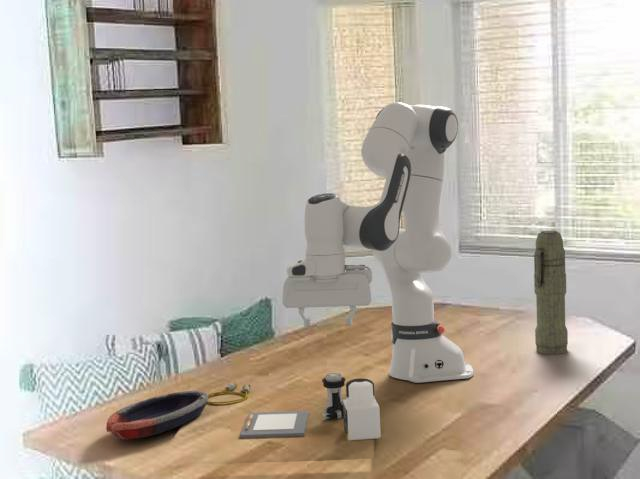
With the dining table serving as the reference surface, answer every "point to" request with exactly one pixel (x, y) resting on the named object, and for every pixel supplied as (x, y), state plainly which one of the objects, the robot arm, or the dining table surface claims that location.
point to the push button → (334, 396)
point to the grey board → (275, 424)
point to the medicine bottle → (361, 411)
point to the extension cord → (229, 389)
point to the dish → (156, 414)
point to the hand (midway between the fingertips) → (328, 325)
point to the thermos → (550, 293)
